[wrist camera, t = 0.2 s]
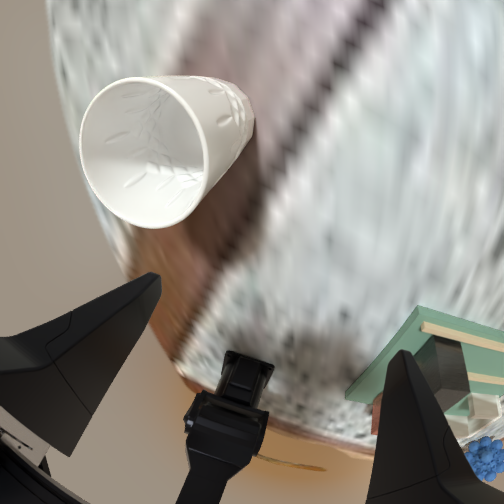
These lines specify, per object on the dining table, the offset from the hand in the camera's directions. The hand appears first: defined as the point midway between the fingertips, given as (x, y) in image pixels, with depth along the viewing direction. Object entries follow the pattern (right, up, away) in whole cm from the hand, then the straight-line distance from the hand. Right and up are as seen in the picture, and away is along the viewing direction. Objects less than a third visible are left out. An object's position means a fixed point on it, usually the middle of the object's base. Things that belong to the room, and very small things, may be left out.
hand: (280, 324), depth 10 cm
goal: (+32, -21, +22) cm, 44 cm away
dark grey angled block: (+18, -12, +19) cm, 28 cm away
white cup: (-4, +13, +11) cm, 17 cm away
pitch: (+26, -14, +19) cm, 35 cm away
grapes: (+50, -38, +28) cm, 68 cm away
